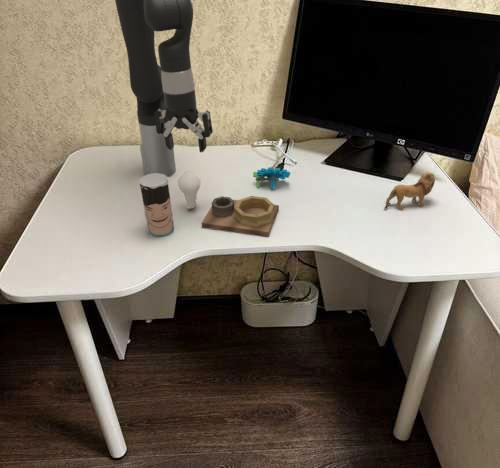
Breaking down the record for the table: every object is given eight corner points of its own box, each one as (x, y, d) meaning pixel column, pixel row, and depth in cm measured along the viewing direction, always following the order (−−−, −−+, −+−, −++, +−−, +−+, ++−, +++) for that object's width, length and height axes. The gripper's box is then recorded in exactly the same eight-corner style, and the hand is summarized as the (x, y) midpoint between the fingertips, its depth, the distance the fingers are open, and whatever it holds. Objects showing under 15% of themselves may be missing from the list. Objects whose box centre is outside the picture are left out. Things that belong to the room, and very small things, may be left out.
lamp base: (201, 227, 121) (200, 213, 119) (217, 202, 131) (216, 188, 129) (268, 236, 117) (268, 222, 115) (278, 210, 128) (279, 196, 125)
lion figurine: (422, 195, 133) (428, 167, 128) (434, 204, 129) (441, 176, 124) (378, 205, 129) (383, 177, 123) (390, 215, 125) (395, 186, 119)
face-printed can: (143, 235, 119) (134, 184, 110) (155, 221, 124) (147, 171, 115) (167, 239, 117) (159, 188, 108) (178, 225, 122) (172, 175, 114)
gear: (293, 175, 140) (286, 164, 131) (292, 193, 139) (285, 184, 130) (258, 175, 143) (249, 165, 134) (257, 194, 143) (248, 185, 133)
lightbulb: (206, 204, 131) (203, 169, 124) (197, 215, 126) (193, 180, 120) (186, 200, 132) (182, 166, 126) (177, 211, 128) (172, 176, 121)
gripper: (144, 91, 108) (155, 154, 118) (201, 94, 105) (208, 158, 114) (157, 81, 114) (166, 141, 123) (211, 83, 111) (217, 145, 120)
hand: (186, 149), depth 119 cm, fingers open, 8 cm apart
